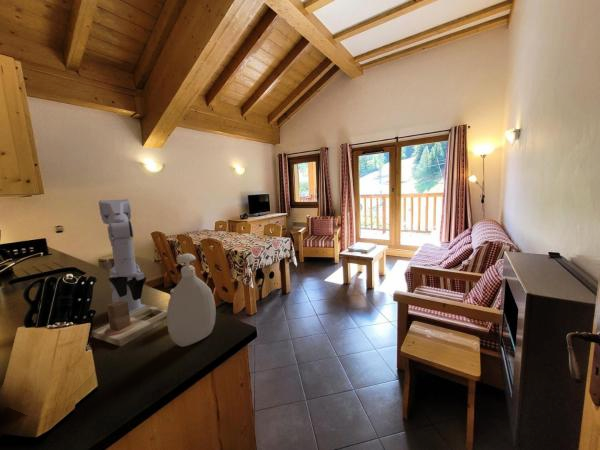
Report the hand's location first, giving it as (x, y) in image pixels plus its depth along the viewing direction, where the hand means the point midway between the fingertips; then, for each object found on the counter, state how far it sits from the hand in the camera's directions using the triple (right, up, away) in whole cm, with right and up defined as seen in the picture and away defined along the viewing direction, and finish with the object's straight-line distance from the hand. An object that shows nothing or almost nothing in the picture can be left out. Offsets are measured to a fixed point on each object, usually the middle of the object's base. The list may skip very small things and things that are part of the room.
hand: (130, 297), depth 86 cm
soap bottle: (+25, -11, -7) cm, 28 cm away
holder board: (+1, -10, +1) cm, 10 cm away
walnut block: (-1, -9, -3) cm, 9 cm away
